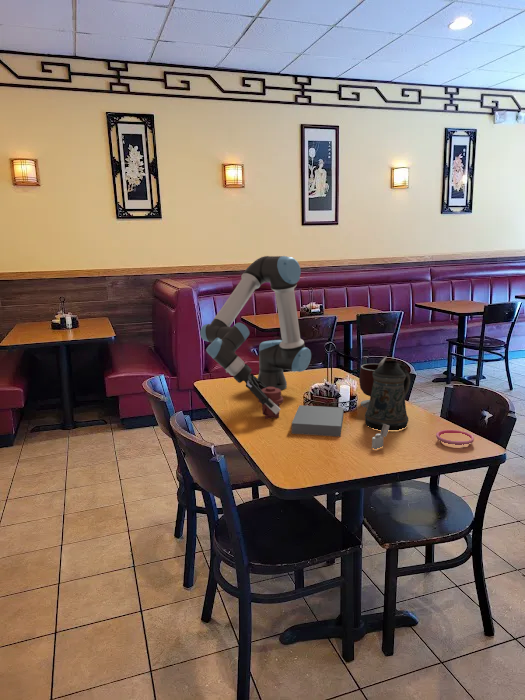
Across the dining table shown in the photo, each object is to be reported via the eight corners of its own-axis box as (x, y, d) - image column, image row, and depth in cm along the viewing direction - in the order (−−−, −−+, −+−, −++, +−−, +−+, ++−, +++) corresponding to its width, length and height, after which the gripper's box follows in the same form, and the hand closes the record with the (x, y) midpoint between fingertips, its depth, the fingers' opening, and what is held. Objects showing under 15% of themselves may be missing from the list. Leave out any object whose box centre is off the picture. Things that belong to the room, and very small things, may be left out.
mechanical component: (259, 412, 215) (283, 413, 214) (257, 420, 205) (282, 421, 204) (259, 384, 212) (283, 384, 211) (257, 390, 203) (282, 391, 202)
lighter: (375, 451, 174) (376, 428, 173) (371, 449, 176) (372, 427, 174) (388, 446, 179) (389, 424, 177) (385, 444, 180) (385, 422, 178)
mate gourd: (381, 412, 214) (383, 365, 210) (352, 405, 223) (353, 361, 219) (398, 403, 226) (400, 359, 222) (370, 397, 234) (371, 354, 230)
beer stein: (359, 428, 195) (361, 364, 190) (371, 413, 213) (373, 354, 208) (403, 435, 188) (407, 369, 183) (412, 419, 206) (416, 358, 201)
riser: (299, 414, 212) (299, 405, 211) (343, 417, 209) (343, 407, 208) (291, 433, 191) (291, 423, 190) (340, 436, 188) (340, 426, 187)
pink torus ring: (428, 440, 184) (428, 432, 183) (455, 435, 189) (455, 427, 188) (453, 453, 173) (454, 444, 172) (481, 447, 177) (482, 438, 177)
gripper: (234, 369, 218) (272, 405, 220) (229, 383, 195) (271, 423, 198) (247, 357, 216) (284, 393, 219) (243, 370, 194) (285, 410, 197)
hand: (278, 407), depth 209 cm, fingers closed on mechanical component, 10 cm apart
